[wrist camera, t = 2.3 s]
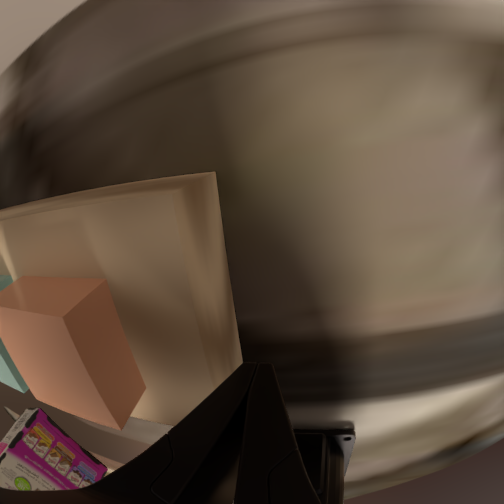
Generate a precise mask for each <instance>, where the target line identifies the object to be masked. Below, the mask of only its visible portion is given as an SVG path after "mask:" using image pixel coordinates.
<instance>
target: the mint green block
mask: <svg viewBox="0 0 504 504" xmlns="http://www.w3.org/2000/svg"><path fill="white" fill-rule="evenodd" d="M12 283H13V279H12V276H11V275H0V291H2V290H3V289H4V288H6V287H7V286H9V285H10V284H12ZM0 381H1V382H3V383H4V384H7V385H8V386H11V387H12V388H14V389H16V390H18V391H20V392H22V393H25V392H26V391H27V390H28V389H29V387H28V385H27V384H26V382H25V381H24V379H23V377H22V376H21V374H20V372H19V371H18V369H17V367H16V365H15V364H14V362H13V360H12V358H11V357H10V355H9V353H8V351H7V349H6V347H5V345H4V343H3V341H2V339H1V337H0Z"/></svg>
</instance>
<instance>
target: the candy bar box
mask: <svg viewBox="0 0 504 504" xmlns="http://www.w3.org/2000/svg"><path fill="white" fill-rule="evenodd" d="M107 470H108V469H107V468H106V467H105V466H104V465H102V464H101V463H100V462H99V461H98V460H96V459H95V458H94V457H93V456H91V455H90V454H89V453H88V452H87V451H86V450H84V449H83V448H82V447H81V446H80V445H79V444H77V443H76V442H75V441H74V440H73V439H72V438H71V437H69V436H68V435H67V434H66V433H65V432H64V431H63V430H62V429H61V428H60V427H59V426H58V425H57V424H56V423H55V422H54V421H53V420H52V419H51V418H50V417H49V416H48V415H47V414H46V413H45V412H44V411H43V410H42V409H41V408H39V407H37V408H27V409H26V410H25V411H24V412H23V413H22V415H21V416H20V417H19V418H18V420H17V421H16V422H15V424H14V425H13V426H12V427H11V429H10V430H9V431H8V432H7V434H6V435H5V437H4V438H3V439H2V441H1V442H0V487H2V488H6V489H11V490H70V489H78V488H82V487H85V486H88V485H91V484H93V483H95V482H97V481H98V480H100V479H102V478H104V476H105V474H106V472H107Z"/></svg>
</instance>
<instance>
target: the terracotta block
mask: <svg viewBox="0 0 504 504" xmlns="http://www.w3.org/2000/svg"><path fill="white" fill-rule="evenodd" d="M0 337H1V339H2V341H3V343H4V345H5V347H6V349H7V351H8V353H9V355H10V357H11V358H12V360H13V362H14V364H15V365H16V367H17V369H18V371H19V372H20V374H21V376H22V377H23V379H24V381H25V382H26V384H27V385H28V387H29V389H30V390H31V392H32V393H33V395H34V396H35V398H36V399H37V400H39V401H42V402H44V403H46V404H49V405H51V406H53V407H56V408H58V409H61V410H63V411H66V412H68V413H71V414H73V415H76V416H79V417H81V418H84V419H87V420H90V421H93V422H96V423H99V424H102V425H105V426H108V427H111V428H114V429H118V430H122V429H123V427H124V425H125V424H126V422H127V420H128V418H129V417H130V415H131V413H132V412H133V410H134V408H135V407H136V405H137V403H138V401H139V400H140V398H141V396H142V395H143V393H144V391H145V390H146V385H145V383H144V381H143V378H142V376H141V374H140V371H139V369H138V367H137V364H136V362H135V359H134V357H133V354H132V352H131V349H130V347H129V344H128V341H127V339H126V336H125V333H124V331H123V328H122V325H121V322H120V319H119V317H118V314H117V311H116V308H115V305H114V302H113V299H112V296H111V292H110V289H109V286H108V283H107V280H106V279H97V278H63V277H37V276H22V277H20V278H19V279H17V280H16V281H14V282H13V283H12V284H10V285H9V286H7V287H6V288H4V289H3V290H2V291H0Z"/></svg>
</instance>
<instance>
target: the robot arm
mask: <svg viewBox="0 0 504 504" xmlns="http://www.w3.org/2000/svg"><path fill="white" fill-rule="evenodd" d="M355 439H356V437H355V431H354V430H293V429H292V426H291V423H290V419H289V416H288V413H287V409H286V406H285V403H284V399H283V396H282V393H281V389H280V386H279V383H278V379H277V376H276V373H275V369H274V366H273V364H272V363H263V362H260V363H259V364H258V363H256V362H243V363H242V364H241V365H240V366H239V367H238V368H237V369H236V370H235V371H234V372H233V373H232V374H231V375H230V376H229V377H228V378H226V379H225V380H224V381H223V382H222V383H221V384H220V385H219V386H218V387H217V388H216V389H215V390H214V391H213V392H212V393H211V394H210V395H208V396H207V397H206V398H205V399H204V400H203V401H202V402H201V403H200V404H199V405H198V406H197V407H195V408H194V409H193V410H192V411H191V412H190V413H189V414H188V415H187V416H185V417H184V418H183V419H182V420H181V421H180V422H179V423H178V424H176V425H175V426H174V427H173V428H172V429H171V430H170V431H168V434H165V435H164V436H163V437H161V438H160V439H159V440H158V441H157V442H155V443H154V444H153V445H152V446H150V447H149V448H148V449H147V450H145V451H144V452H143V453H141V454H140V455H138V456H137V457H135V458H134V459H133V460H131V461H130V462H128V463H126V464H125V465H123V466H122V467H120V468H118V469H117V470H115V471H114V472H112V473H110V474H109V475H107V476H105V477H104V478H102V479H100V480H98V481H97V482H95V483H93V484H91V485H88V486H85V487H82V488H78V489H70V490H11V489H6V488H2V487H0V504H232V503H233V500H234V504H343V500H344V476H345V474H346V470H347V467H348V464H349V460H350V457H351V454H352V450H353V446H354V443H355Z"/></svg>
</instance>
